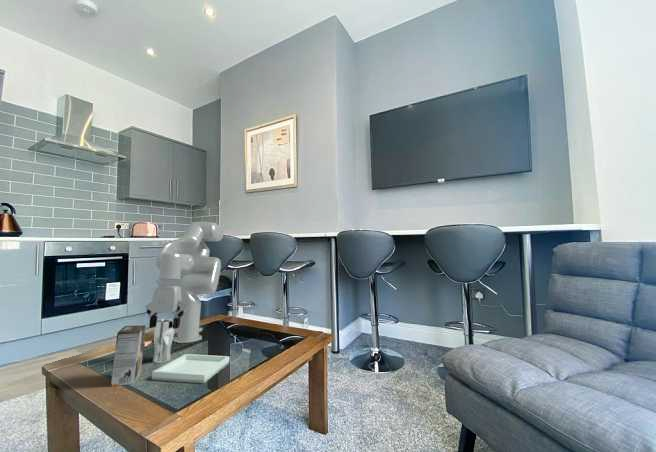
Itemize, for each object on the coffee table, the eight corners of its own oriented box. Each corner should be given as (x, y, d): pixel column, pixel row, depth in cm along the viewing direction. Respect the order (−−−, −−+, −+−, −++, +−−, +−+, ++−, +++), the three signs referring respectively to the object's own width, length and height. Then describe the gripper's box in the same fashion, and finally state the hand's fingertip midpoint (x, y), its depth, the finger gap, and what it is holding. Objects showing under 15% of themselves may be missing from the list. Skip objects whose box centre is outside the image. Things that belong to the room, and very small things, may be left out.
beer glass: (162, 364, 103) (166, 322, 105) (146, 362, 104) (151, 321, 106) (175, 358, 110) (179, 319, 112) (161, 356, 111) (165, 318, 113)
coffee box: (118, 375, 92) (124, 325, 94) (141, 373, 95) (146, 324, 97) (109, 387, 84) (116, 332, 86) (134, 383, 86) (140, 330, 88)
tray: (185, 360, 107) (185, 353, 108) (229, 363, 105) (229, 356, 106) (151, 379, 89) (152, 371, 90) (204, 383, 88) (204, 375, 88)
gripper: (142, 283, 108) (136, 328, 105) (183, 284, 106) (178, 330, 104) (155, 282, 115) (150, 325, 112) (194, 283, 114) (190, 326, 111)
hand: (164, 327), depth 108 cm, fingers open, 9 cm apart
